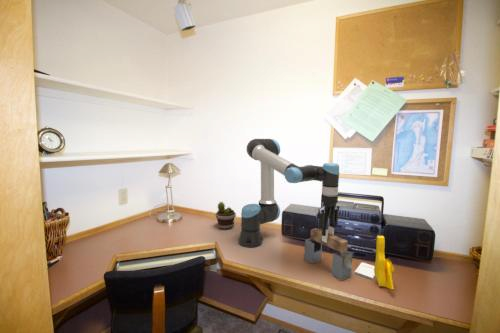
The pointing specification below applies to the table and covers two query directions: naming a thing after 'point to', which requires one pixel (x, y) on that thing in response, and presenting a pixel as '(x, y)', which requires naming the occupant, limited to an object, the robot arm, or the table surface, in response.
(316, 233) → the rail
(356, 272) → the external hard drive
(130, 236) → the table surface
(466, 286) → the table surface
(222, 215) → the flowerpot
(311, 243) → the bracket left
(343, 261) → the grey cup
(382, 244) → the figure statuette
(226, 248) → the table surface
